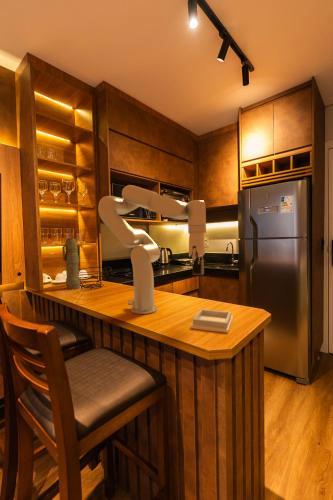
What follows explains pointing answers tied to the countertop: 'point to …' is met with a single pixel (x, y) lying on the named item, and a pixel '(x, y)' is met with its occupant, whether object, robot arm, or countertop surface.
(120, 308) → the countertop surface
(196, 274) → the connector plug
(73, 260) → the thermos
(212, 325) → the tray
